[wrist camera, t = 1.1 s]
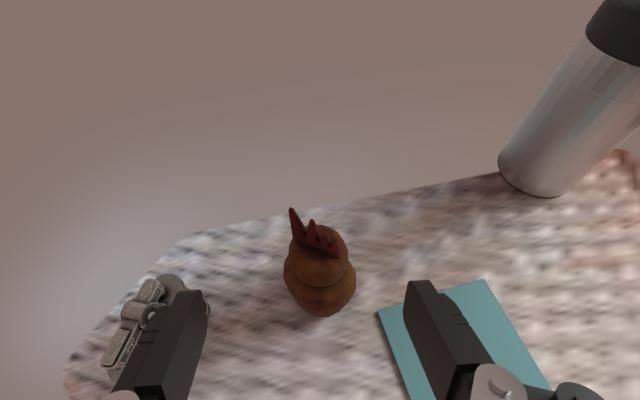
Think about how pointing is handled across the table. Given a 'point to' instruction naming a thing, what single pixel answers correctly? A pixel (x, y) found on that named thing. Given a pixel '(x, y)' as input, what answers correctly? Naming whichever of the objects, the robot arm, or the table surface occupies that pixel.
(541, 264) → the table surface
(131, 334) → the lighter
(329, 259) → the wooden figurine
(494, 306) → the mat
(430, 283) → the robot arm
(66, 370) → the table surface
